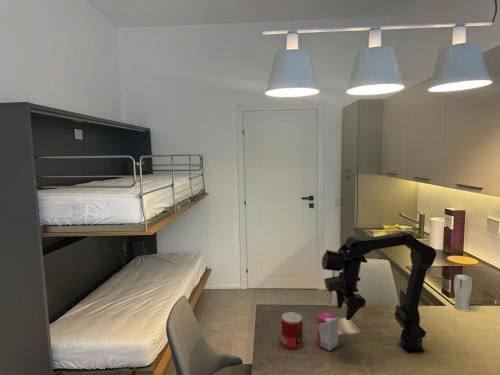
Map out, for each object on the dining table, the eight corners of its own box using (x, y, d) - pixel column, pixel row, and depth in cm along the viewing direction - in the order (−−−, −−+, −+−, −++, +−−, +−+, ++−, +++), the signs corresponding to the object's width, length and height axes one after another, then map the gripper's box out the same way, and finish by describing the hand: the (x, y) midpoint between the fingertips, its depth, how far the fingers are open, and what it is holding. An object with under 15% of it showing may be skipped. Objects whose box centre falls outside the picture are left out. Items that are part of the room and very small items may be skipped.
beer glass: (454, 303, 160) (455, 273, 158) (471, 307, 155) (473, 276, 154) (451, 309, 154) (453, 277, 153) (469, 313, 150) (471, 281, 148)
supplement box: (338, 345, 128) (338, 316, 127) (329, 352, 124) (329, 322, 123) (325, 339, 132) (325, 311, 131) (316, 345, 128) (316, 316, 127)
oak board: (349, 320, 148) (349, 317, 148) (361, 335, 136) (361, 332, 136) (322, 322, 147) (322, 319, 146) (332, 337, 135) (332, 334, 135)
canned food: (300, 351, 125) (300, 323, 124) (279, 347, 128) (279, 319, 126) (304, 340, 132) (304, 313, 131) (284, 337, 135) (284, 310, 134)
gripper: (321, 261, 130) (314, 300, 131) (337, 279, 111) (329, 324, 113) (349, 264, 130) (342, 303, 132) (369, 283, 112) (361, 328, 113)
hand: (343, 313), depth 122 cm, fingers open, 9 cm apart
